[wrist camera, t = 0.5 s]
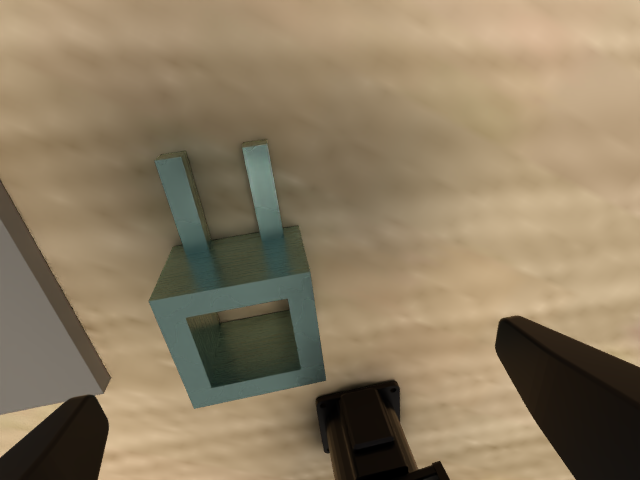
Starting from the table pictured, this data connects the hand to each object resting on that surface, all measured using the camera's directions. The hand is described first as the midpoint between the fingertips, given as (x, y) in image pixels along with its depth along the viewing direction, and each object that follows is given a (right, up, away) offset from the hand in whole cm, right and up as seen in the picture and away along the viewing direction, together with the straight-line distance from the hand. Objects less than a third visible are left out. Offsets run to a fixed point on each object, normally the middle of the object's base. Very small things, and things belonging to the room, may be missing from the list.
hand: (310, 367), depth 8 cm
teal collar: (-4, +2, +12) cm, 13 cm away
